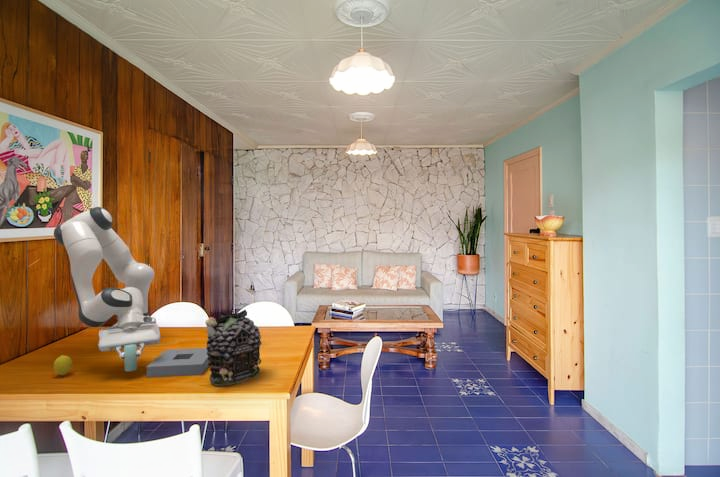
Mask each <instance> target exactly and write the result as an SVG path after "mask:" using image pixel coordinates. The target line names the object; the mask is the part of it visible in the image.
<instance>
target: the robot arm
mask: <svg viewBox="0 0 720 477" xmlns="http://www.w3.org/2000/svg"><path fill="white" fill-rule="evenodd" d="M113 222H114V220H113V217H112V215H111V214H110V213H109V211H108V210H106V208H104V207H100V206H95V207H92V208H89V209H88V210H85V211H83V212H80V213H78V214H76V215H74V216H73V217H71V218H69V219H68V220H66V221H64V222H63V223H60V224H58V225H57V226H56V227H55V228H54V230H53V237H54V238H55V240H56V241H57V243H59V244H60V245H61V246H63V247H65V250H66V252H67V255H68V258H69V259H68V260H69V263H70V279H71V282H72V283H71V284H72V288H73V290H74V293H75V298H76V300H77V305H78V318H79V320H80V321H81V322H82V323H83V324H84V325H85V326H88V327H92V328H99V327H103V325H106V323H107V321H109V319H110V318H113V316H116V318H115V320H117V322H116V323H115V324H113V325H111V326H108V327H103V328H102V329H100V330H99V331H98V338H99V340H98V344H97V348H98V350H99V351H100V352H109V351H115V350H116V353H117V354H118V356H119V360H124V351H123V352H122V350H124V346H125V345H128V344H136V347H137V348H138V347H139V349H137V358H138V357H142V352H143V351H144V349H145V346H152V345H159V344H160V342H161V332H160V327H159V325H158V324H157V320H156V319H157V318H156V317H154V316H150V313H149V310H148V309H149V306H148V305H149V303H148V302H149V301H148V298H149V293H150V292H149V291H150V287H151V284H152V282H153V281H154V278H155V276H156V275H155V270H154V269H153V267H152V266H150V265H148V264H146V263H143V262H138V261H136V260H135V258H133V255H132V253H131V251H130V247H129V246H128V245H127V244H126V243H125V242H124V240H123V239H122V238H121V237H120V236H119V235H118V233H117V232H115V231H114V229H113V228H112V226H113ZM102 260H104V261H105V263H106V264H107V265H108V266H109V269H110V270H111V272H112V273H113V275H114V277H115V279H116V280H117V281H119V282H120V283H122V284H125V287H124V288H119V287H118V288H117V287H113V286H112V287H105V288H104V289H103V290H101V292H99V293H98V294H96V292H95V289H94V285H93V276H94V274H95V273H96V270H97V269H98V266H99V265H100V263H101V262H102Z"/></svg>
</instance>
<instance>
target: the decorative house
mask: <svg viewBox="0 0 720 477" xmlns="http://www.w3.org/2000/svg"><path fill="white" fill-rule="evenodd" d="M246 316H248V312H247V310H246V309H244V310H242V311H240V312H238V313H237V312H234V313H222V314H221V315H220V319H219V321H218V319H216V318H215V317H213V316H212V317H209V318H207V319H206V320H205V325H206V334H207V339H206V347H205V348H207V355H208V361H207V362H208V365H209V366H208V367H209V371H210V372H211V373H210V375H209V381H210V382H211V384H212V385H215V386H230V385H234V384H238V383H241V382H245V381H247V380H250V379H253V378H255V377H258V375H259V374H260V371H261V367H260V366H259V365H261V363H262V359H261V358H260V356H261V355H260V348H261V347H260V346H262V344H263V342H262V341H261V339H262V335H261V331H260V330H259V327H258V326H257V325H256V324H255V322H254V320H252V319H250V318H249V317H246Z"/></svg>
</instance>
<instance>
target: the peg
mask: <svg viewBox="0 0 720 477" xmlns="http://www.w3.org/2000/svg"><path fill="white" fill-rule="evenodd" d="M137 348H138V347H136V344H128V345H125V346H124V349H123V352H124V359H123V360H124V362H123V363H124V372H134V371H136V370H137V369H138V357H137V350H138V349H137Z"/></svg>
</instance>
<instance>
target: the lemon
mask: <svg viewBox="0 0 720 477" xmlns="http://www.w3.org/2000/svg"><path fill="white" fill-rule="evenodd" d="M72 366H73V360H72V358H71V357H70V356H68V355H64V354H61V355H60V356H59V357H57V358H56V359H55V360H54V361H53V371H54V373H55V374H56V375H60V376H62V377H64V376H65V375H67V374H68V373H69V372H70V371H71V370H72Z"/></svg>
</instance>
